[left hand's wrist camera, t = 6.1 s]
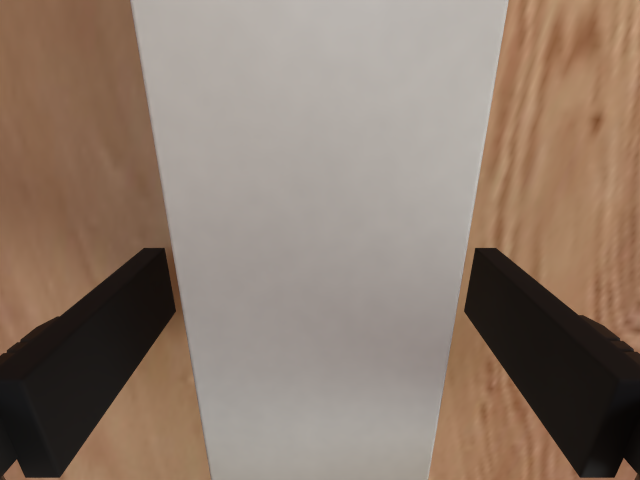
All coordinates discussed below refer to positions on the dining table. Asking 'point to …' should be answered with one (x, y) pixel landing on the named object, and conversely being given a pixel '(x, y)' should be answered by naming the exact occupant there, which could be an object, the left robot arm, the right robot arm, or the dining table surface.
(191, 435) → the dining table surface
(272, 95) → the bar
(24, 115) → the dining table surface
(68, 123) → the dining table surface
